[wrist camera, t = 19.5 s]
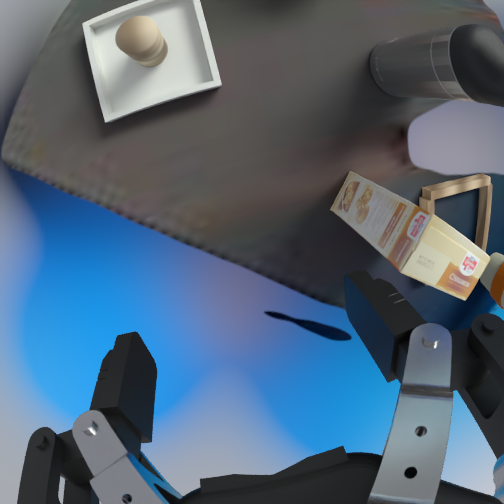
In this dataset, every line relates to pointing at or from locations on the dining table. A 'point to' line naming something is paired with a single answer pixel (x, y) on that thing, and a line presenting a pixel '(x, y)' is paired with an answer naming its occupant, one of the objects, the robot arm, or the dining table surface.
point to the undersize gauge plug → (142, 41)
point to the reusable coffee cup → (495, 278)
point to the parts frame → (457, 187)
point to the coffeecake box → (411, 237)
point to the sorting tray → (157, 77)
